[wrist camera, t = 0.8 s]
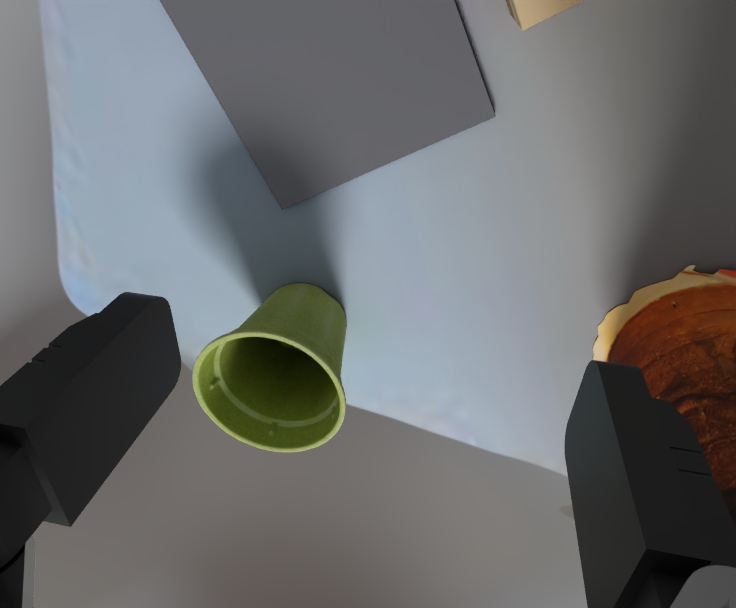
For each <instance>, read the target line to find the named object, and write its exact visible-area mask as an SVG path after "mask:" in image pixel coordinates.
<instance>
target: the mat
mask: <svg viewBox="0 0 736 608" xmlns="http://www.w3.org/2000/svg"><path fill="white" fill-rule="evenodd" d="M160 2H161V3H162V5H163V7H164V9H165V10H166V12H167V14H168V15H169V17H170V19H171V21H172V22H173V24H174V26H175V27H176V29H177V31H178V32H179V34H180V36H181V38H182V39H183V41H184V43H185V44H186V46H187V48H188V50H189V51H190V53H191V55H192V56H193V58H194V60H195V62H196V63H197V65H198V67H199V68H200V70H201V72H202V74H203V75H204V77H205V79H206V80H207V82H208V84H209V85H210V87H211V89H212V91H213V92H214V94H215V96H216V97H217V99H218V101H219V103H220V104H221V106H222V108H223V109H224V111H225V113H226V115H227V116H228V118H229V120H230V121H231V123H232V125H233V127H234V128H235V130H236V132H237V133H238V135H239V137H240V139H241V140H242V142H243V144H244V145H245V147H246V149H247V150H248V152H249V154H250V156H251V157H252V159H253V161H254V162H255V164H256V166H257V168H258V169H259V171H260V173H261V174H262V176H263V178H264V180H265V181H266V183H267V185H268V186H269V188H270V190H271V192H272V193H273V195H274V197H275V198H276V200H277V202H278V203H279V205H280V207H281V209H282V210H283V209H285V208H288V207H290V206H292V205H294V204H297V203H299V202H301V201H304V200H306V199H308V198H310V197H313V196H315V195H317V194H320V193H322V192H324V191H326V190H329V189H331V188H333V187H336V186H338V185H340V184H342V183H345V182H347V181H349V180H352V179H354V178H356V177H358V176H361V175H363V174H365V173H368V172H370V171H372V170H374V169H377V168H379V167H381V166H384V165H386V164H388V163H390V162H393V161H395V160H397V159H400V158H402V157H404V156H406V155H409V154H411V153H413V152H416V151H418V150H420V149H423V148H425V147H427V146H429V145H432V144H434V143H436V142H439V141H441V140H443V139H445V138H448V137H450V136H452V135H455V134H457V133H459V132H461V131H464V130H466V129H468V128H471V127H473V126H475V125H477V124H480V123H482V122H484V121H487V120H489V119H491V118H493V117H496V116H495V112H494V110H493V107H492V104H491V101H490V98H489V96H488V93H487V90H486V87H485V84H484V82H483V79H482V76H481V73H480V70H479V68H478V65H477V62H476V59H475V56H474V53H473V51H472V48H471V45H470V42H469V39H468V37H467V34H466V31H465V28H464V25H463V23H462V20H461V17H460V14H459V11H458V9H457V6H456V3H455V0H160Z"/></svg>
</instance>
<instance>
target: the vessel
mask: <svg viewBox="0 0 736 608" xmlns="http://www.w3.org/2000/svg"><path fill="white" fill-rule="evenodd" d="M695 266H696V265H689V266H687V267H686V268H685V269H684V270H682V271H681V272H680V273H679V274H678V275H676V276H675V277H674V278H673V279H670V280H666V281H662V282H659V283H656V284H653V285H650V286H647V287H644V288H642V289H639V290H637V291H635V292H634V294H633V296H632V297H631V299H630V301H629V303H627V304H623V305H619V306H617V307H616V308H614V309H613V310H611V311H610V312H608V313H607V315H606V316H605V319H604V320H603V321H602V322H601V324H600V325H599V326H598V335H599V336H598V338H597V340H596V341H595V344H594V346H593V350H594V356H593V360H597V361H604V362H611V363H618V364H625V365H632V366H638V367H639V368H640V369H641V371H642V373H643V376H644V378H645V381H646V384H647V387H648V389H649V392H650V395H651V397H652V398H654V399H660V400H667V401H669V402H670V403H671V404H672V405H673V406H674V407H675V408H676V409H677V410H678V411H679V412H680V413H681V414H682V415H683V416H684V418H685V419H686V420H687V421H688V422H689V423H690V424H691V425H692V427H693V429H694V432H695V434H696V436H697V438H698V441H699V443H700V445H701V448H702V450H703V457H706V459H707V461H708V464H709V466H710V468H711V471H712V473H713V480H715V481H716V482H717V485H718V487H719V489H720V491H721V494H722V496H723V498H724V501H725V503H726V505H727V508H728V510H729V512H730V514H731V517H732V519H733V521H734V524H735V526H736V271H732V270H725V269H720V270H719V271H717V272H716V273H715V274H714V275H712V274H703V273H699V272H696V271H693V269H694V267H695Z"/></svg>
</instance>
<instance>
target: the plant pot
mask: <svg viewBox="0 0 736 608" xmlns="http://www.w3.org/2000/svg"><path fill="white" fill-rule="evenodd" d="M346 327H347V322H346V317H345V313H344V311H343V309H342V307H341V305H340V304H339V302H338V301H337V300H335V299H333V298H332V297H330V296H329V295H328V294H327V293H325V292H324V291H323V290H322V289H321V288H319V287H317V286H314V285H310V284H305V283H294V284H289V285H285V286H283V287H281V288H279V289H277V290H276V291H275V292H274V293H273V294H271V295H270V296H269V297H268V298H267V299H266V300H265V302H264V303H263V304H262V305H261V306H260V307H259V308H258V309H257V310H256V311H255V312H254V313H253V314H252V315H251V316H250V317H249V318H248V319H247V320H246V321H245V322H244V323H243V324H242V325H241V326H240V327H239V328H238V329H235V330H234V331H232V332H230V333H228V334H225V335H222V336H220V337H218V338H216V339H215V340H213V341H212V342H210V343H209V344H208V345H207V346H206V347H205V348H204V349H203V350H202V351H201V353H200V354H199V356H198V357H197V359H196V362H195V364H194V368H193V387H194V391H195V394H196V396H197V399H198V401H199V403H200V405H201V406H202V408H203V410H204V411H205V412H206V413H207V415H208V416H209V417H210V418H211V419H212V420H213V421H214V422H215V423H216V424H217V425H218V426H219V427H220V428H222V429H223V430H224V431H225V432H227V433H228V434H230V435H231V436H233V437H234V438H236V439H238V440H240V441H242V442H245V443H247V444H249V445H252V446H254V447H257V448H261V449H265V450H270V451H275V452H299V451H304V450H308V449H311V448H314V447H317V446H319V445H322V444H323V443H325V442H327V441H328V440H329V439H330V438H332V436H334V435H335V434H336V432H337V431H338V429H339V428H340V426H341V424H342V422H343V420H344V416H345V410H346V398H345V393H344V389H343V386H342V382H341V377H340V374H341V366H342V357H343V349H344V342H345V334H346Z"/></svg>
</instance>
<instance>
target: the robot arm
mask: <svg viewBox="0 0 736 608" xmlns="http://www.w3.org/2000/svg"><path fill="white" fill-rule="evenodd" d="M180 370H181V356H180V352H179V347H178V342H177V337H176V332H175V328H174V323H173V318H172V313H171V309H170V305H169V303H168V301H167V300H166V299H165V298H163V297H158V296H151V295H144V294H137V293H130V292H125V293H122V294H120V295H119V296H118V297H117V298H116V299H114V300H113V301H112V302H111V303H110V304H109V305H108V306H107V307H105V308H104V309H103V310H102V311H101V312H100V313H95V314H93V315H91V316H89V317H87V318H85V319H83V320H81V321H79V322H77V323H75V324H74V325H71V326H69V327H68V328H67V329H66V330H65V331H63V332H62V333H61V334H60V335H59V336H58V337H56V338H55V339H54V340H53V341H52V342H51V343H49V347H48V348H44V349H43V350H41V351H40V352H39V353H38V354H37V355H36V356H34V357H33V358H32V362H31V363H26V364H25V365H24V366H23V367H22V368H21V369H19V370H18V371H17V372H16V373H15V374H14V375H12V376H11V377H10V378H9V379H8V380H7V381H5V382H4V383H3V384H2V385H1V386H0V608H34V582H35V581H34V580H35V554H36V546H35V541H34V538H33V536H32V534H33V533H34V531H35V530H36V529H37V528H38V526H39V525H40V524H41V523H42V522H43V521H46V522H50V523H56V524H60V525H64V526H69V527H71V526H72V524H73V523H74V522H75V520H76V519H77V518H78V516H79V515H80V514H81V512H82V511H83V510H84V508H85V507H86V506H87V504H88V503H89V502H90V500H91V499H92V497H93V496H94V495H95V493H96V492H97V491H98V489H99V488H100V487H101V485H102V484H103V483H104V481H105V480H106V479H107V477H108V476H109V475H110V473H111V472H112V471H113V469H114V468H115V467H116V465H117V464H118V463H119V461H120V460H121V459H122V457H123V456H124V454H125V453H126V452H127V450H128V449H129V448H130V446H131V445H132V444H133V442H134V441H135V440H136V438H137V437H138V436H139V434H140V433H141V432H142V430H143V429H144V428H145V426H146V425H147V424H148V422H149V421H150V420H151V418H152V417H153V416H154V414H155V413H156V412H157V410H158V409H159V407H160V406H161V405H162V403H163V402H164V401H165V399H166V398H167V397H168V395H169V394H170V393H171V391H172V390H173V389H174V387H175V385H176V383H177V381H178V378H179V375H180ZM565 459H566V466H567V472H568V479H569V485H570V492H571V499H572V506H573V512H574V519H575V525H576V532H577V539H578V546H579V552H580V559H581V565H582V572H583V579H584V585H585V592H586V599H587V605H588V608H736V526H735V524H734V521H733V519H732V517H731V514H730V512H729V510H728V508H727V505H726V503H725V501H724V498H723V496H722V494H721V491H720V489H719V487H718V485H717V482H716V481H715V480H713V473H712V471H711V468H710V466H709V464H708V461H707V459H706V457H703V450H702V448H701V445H700V443H699V441H698V438H697V436H696V434H695V432H694V429H693V427H692V425H691V424H690V423H689V422H688V421H687V420H686V419H685V418H684V416H683V415H682V414H681V413H680V412H679V411H678V410H677V409H676V408H675V407H674V406H673V405H672V404H671V403H670V402H669V401H667V400H660V399H654V398H652V397H651V395H650V392H649V389H648V387H647V384H646V381H645V378H644V376H643V373H642V371H641V369H640V368H639V367H638V366H632V365H625V364H618V363H611V362H604V361H597V360H591V361H590V362H589V364H588V366H587V368H586V370H585V373H584V376H583V379H582V382H581V385H580V388H579V391H578V394H577V397H576V400H575V402H574V405H573V408H572V411H571V414H570V417H569V420H568V423H567V428H566V434H565Z"/></svg>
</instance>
